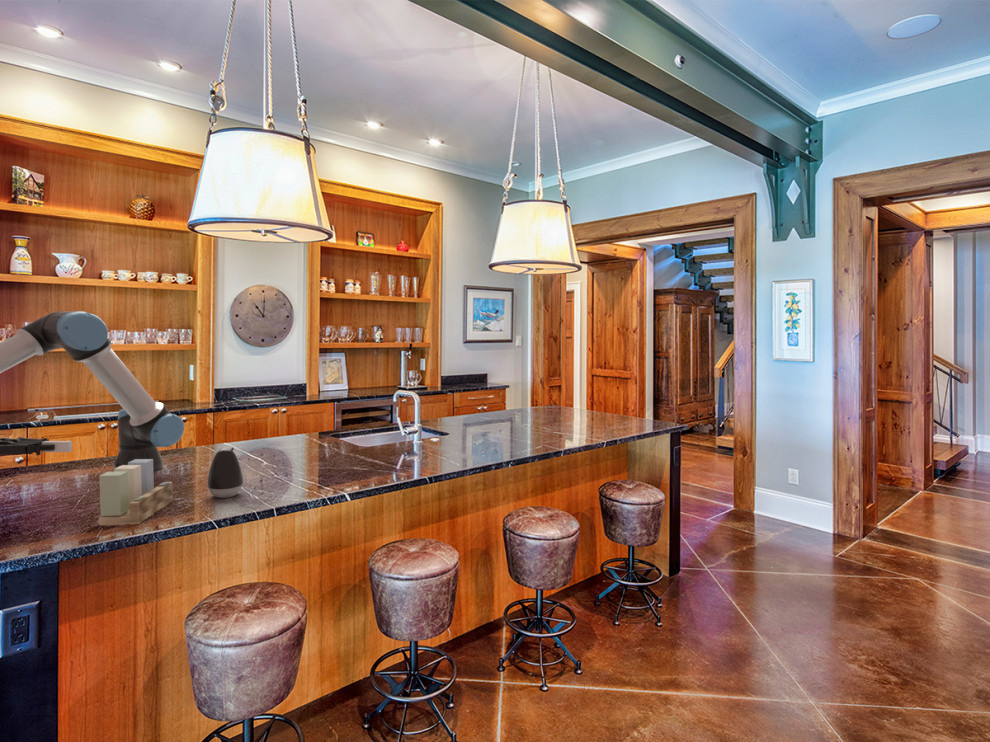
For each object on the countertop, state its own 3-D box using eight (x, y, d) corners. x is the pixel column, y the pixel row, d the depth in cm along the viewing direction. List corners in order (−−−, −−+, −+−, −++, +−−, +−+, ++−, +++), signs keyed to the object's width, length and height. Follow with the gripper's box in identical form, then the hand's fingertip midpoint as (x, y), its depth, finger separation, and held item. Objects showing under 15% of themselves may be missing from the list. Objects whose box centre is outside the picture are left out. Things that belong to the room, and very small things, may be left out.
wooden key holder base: (138, 501, 166) (137, 480, 165) (172, 501, 167) (172, 480, 166) (98, 525, 146) (97, 502, 145) (138, 524, 147) (137, 501, 146)
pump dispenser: (249, 490, 179) (248, 445, 178) (234, 500, 168) (234, 452, 167) (217, 490, 178) (216, 444, 177) (201, 500, 168) (200, 451, 167)
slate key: (136, 495, 164) (135, 459, 164) (154, 494, 165) (153, 459, 164) (129, 499, 160) (127, 462, 160) (147, 499, 161) (146, 462, 160)
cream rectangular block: (123, 502, 158) (122, 465, 157) (142, 502, 158) (140, 465, 157) (115, 507, 154) (114, 468, 153) (134, 506, 154) (133, 468, 153)
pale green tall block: (109, 510, 151) (108, 471, 150) (128, 510, 151) (127, 471, 150) (100, 515, 147) (99, 475, 146) (120, 515, 147) (119, 475, 146)
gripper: (-8, 454, 150) (85, 454, 153) (-49, 466, 137) (54, 466, 140) (-9, 427, 149) (85, 428, 152) (-50, 437, 136) (53, 437, 139)
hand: (70, 446), depth 146 cm, fingers closed
